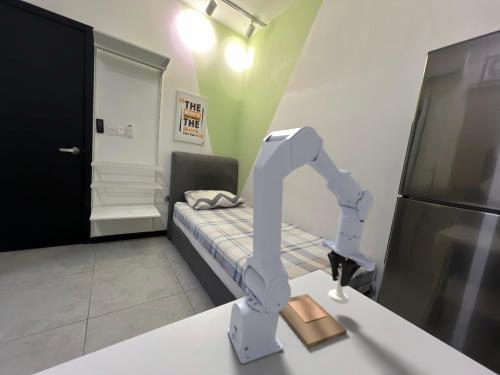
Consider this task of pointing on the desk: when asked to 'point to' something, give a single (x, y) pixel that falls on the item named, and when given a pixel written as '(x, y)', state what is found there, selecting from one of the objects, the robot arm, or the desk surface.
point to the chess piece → (338, 291)
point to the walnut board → (311, 321)
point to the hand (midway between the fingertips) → (340, 282)
